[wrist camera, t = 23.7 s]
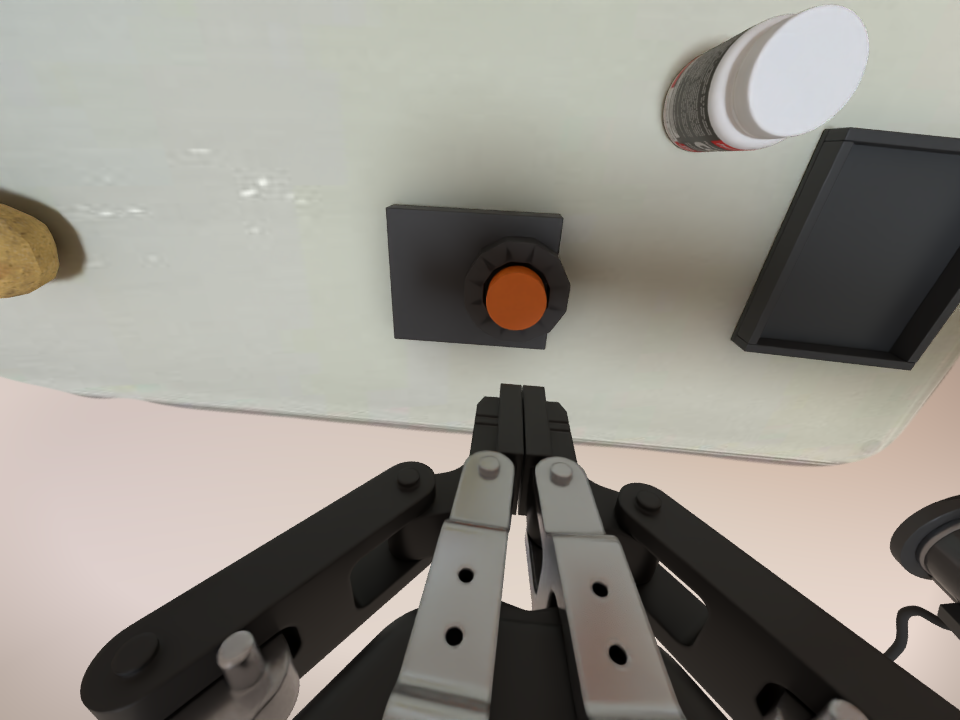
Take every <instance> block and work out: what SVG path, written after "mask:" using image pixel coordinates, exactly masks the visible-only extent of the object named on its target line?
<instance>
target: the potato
mask: <svg viewBox="0 0 960 720" xmlns="http://www.w3.org/2000/svg"><path fill="white" fill-rule="evenodd" d="M58 269H59V260H58V254H57V248H56V244H55V242H54V239H53V237H52V235H51V233H50V231H49V229H48V228H47V226H46V225H45V224H44V223H42V222H41V221H39V220H37V219H36V218H34V217H33V216H30V215H28V214H26V213H23V212H21V211H19V210H16V209H14V208H12V207H10V206H7V205H4V204H1V203H0V298H10V297H14V296H19V295H24V294H28V293H30V292H32V291H34V290H36V289H38V288H39V287H41V286H43V285H44V284H46V283H48V282H49V281H51V280H52V279H54V278H55V277H56V274H57V271H58Z"/></svg>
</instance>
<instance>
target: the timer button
mask: <svg viewBox="0 0 960 720" xmlns="http://www.w3.org/2000/svg"><path fill="white" fill-rule="evenodd" d="M546 305H547V297H546V292H545V288H544V284H543V282H542V280H541V278H540V277H539V275H538V274H537V273H536V272H534V271H533V270H531V269H530V268H527V267H524V266H509V267H506V268H504V269H502V270H500V271H499V272H498V273H497V274H495V275H494V277H493V278H492V280H491V281H490V284H489V287H488V291H487V297H486V307H487V311H488V313H489V315H490V317H491V318H492V320H493V321H494V322H495V323H496V324H498V325H499V326H501V327H503V328H505V329H509V330H523V329H526V328H529V327H531V326H533V325H534V324H536V323H537V322H538V321H539V320H540V319H541V317H542V316H543V314H544V312H545V309H546Z"/></svg>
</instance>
